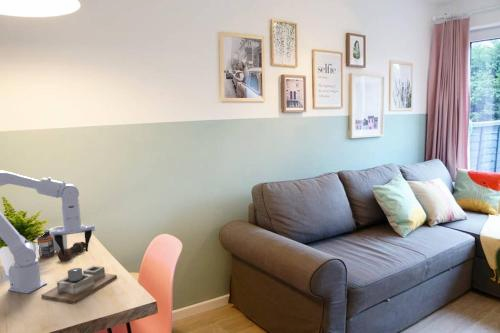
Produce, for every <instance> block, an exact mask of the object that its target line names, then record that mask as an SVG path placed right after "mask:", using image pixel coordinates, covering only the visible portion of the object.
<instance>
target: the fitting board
mask: <svg viewBox="0 0 500 333" xmlns="http://www.w3.org/2000/svg"><path fill="white" fill-rule="evenodd" d="M105 271H106V270H105V266H100V265H91V266H90V267H88V268H86V269H84V270H82V276H83V280H81V281H79V282H77V283H70V282H69V280H68V276H66V277H64V278H62V279H60V280H58V281H56V287H53V288H52V289H49V290H48V291H46V292H44V293H42V294H41V298H42V299H45V300H46V299H47V300H51V301H56V302H63V303H68V304H77V303H78V302H80V301H81V300H83V299H85V298H86V297H88V296H89V295H91V294H93V293H94V292H96V291H97V290H99V289H101V288H102V287H104V286H106V285H107V284H109V283H111V282H112V281H115V279H117V278H118V277H117V276H118V275H117V274H111V273H106V272H105Z"/></svg>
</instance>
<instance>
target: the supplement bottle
mask: <svg viewBox="0 0 500 333" xmlns="http://www.w3.org/2000/svg"><path fill="white" fill-rule="evenodd" d="M43 230H44V233H45V234H44V235H43V236H41V237H39V236H38V237H37V240H36V242H37V246H38V245H39V249H38V255H39V258H40V259H49V258H52V257H54V256H55V254H56V252H55V251H54V243H53V237H51V233H50V229H43Z"/></svg>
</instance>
